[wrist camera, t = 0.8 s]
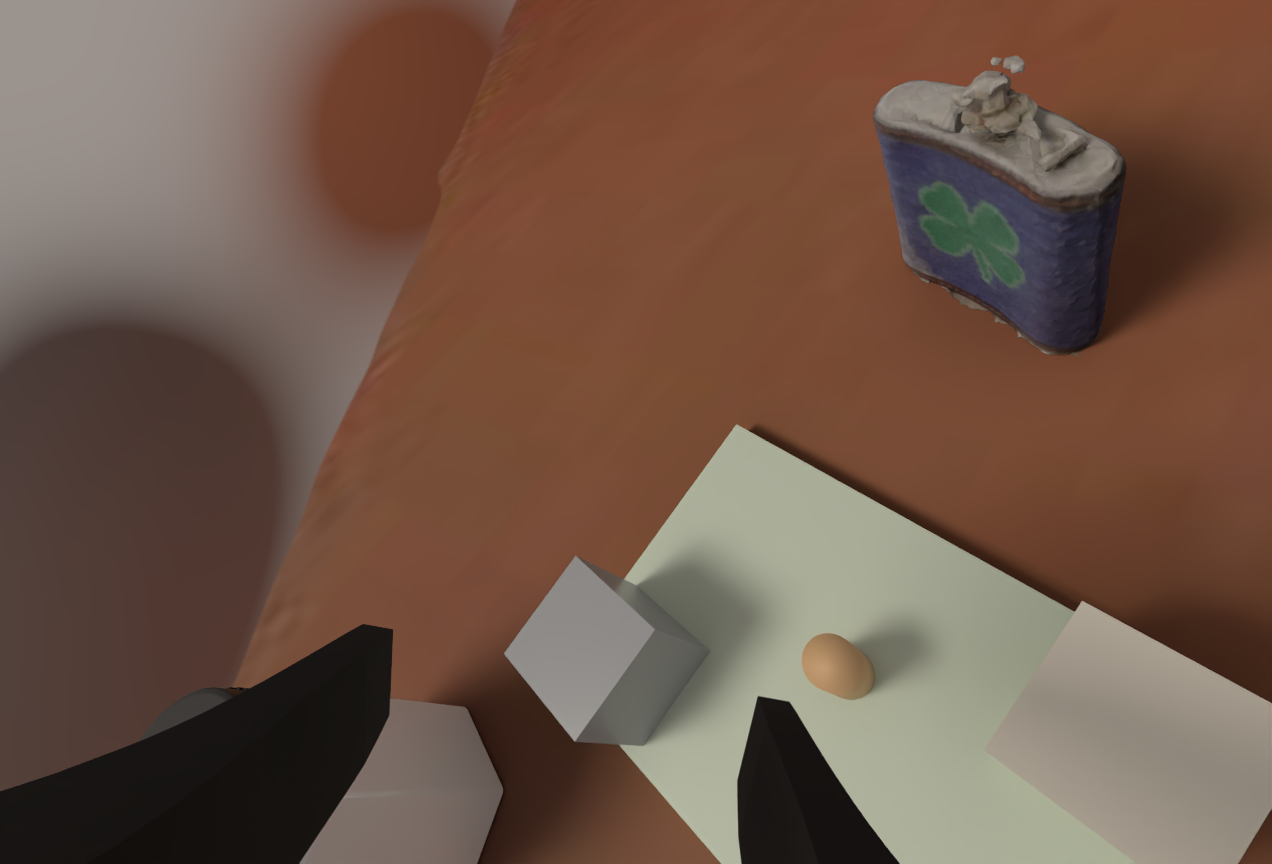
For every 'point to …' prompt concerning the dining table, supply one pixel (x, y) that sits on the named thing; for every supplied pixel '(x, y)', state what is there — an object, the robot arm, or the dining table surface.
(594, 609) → the grey sharp-edged cube
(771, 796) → the robot arm
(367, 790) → the jar
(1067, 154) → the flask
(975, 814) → the board
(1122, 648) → the cream colored cube
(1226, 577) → the dining table surface
